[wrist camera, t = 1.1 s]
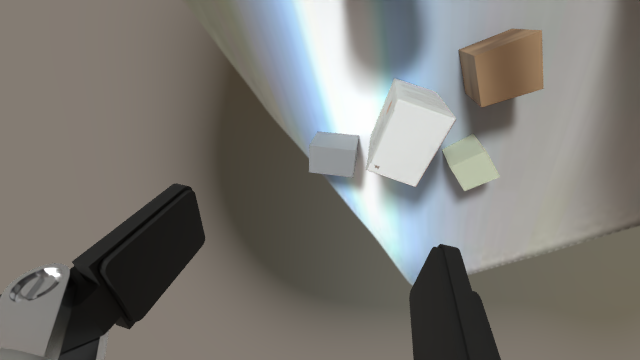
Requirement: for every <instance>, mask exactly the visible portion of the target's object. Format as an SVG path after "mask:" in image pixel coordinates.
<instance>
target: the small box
mask: <svg viewBox="0 0 640 360" xmlns="http://www.w3.org/2000/svg"><path fill="white" fill-rule="evenodd" d="M455 121H456V117H455V116H454V115H453V113H452V112H451V111H450V110H449V108H448V107H447V105H446V104H445V103H444V102H443V100H442V99H441V98H440V96H439V95H438V94H437V92H435V91H432V90H429V89H426V88H423V87H420V86H417V85H414V84H411V83H408V82H405V81H402V80H399V79H395V78H394V80H393V82H392V85H391V87H390V90H389V92H388V95H387V97H386V100H385V102H384V105H383V107H382V109H381V112H380V114H379V117H378V119H377V122H376V124H375V127H374V129H373V131H372V134H371V138H370V145H369V152H368V160H367V168H366V170H368V171H371V172H374V173H376V174H379V175H382V176H385V177H388V178H391V179H394V180H397V181H399V182H402V183H405V184H408V185H411V186H414V187H416V186H417V184H418V183H419V181H420V179H421V178H422V176H423V174H424V172H425V171H426V169H427V167H428V166H429V164H430V162H431V161H432V159H433V157H434V156H435V154H436V152H437V151H438V149H439V147H440V146H441V144H442V142H443V140H444V139H445V137H446V135H447V134H448V132H449V130H450V129H451V127H452V125H453V124H454V122H455Z"/></svg>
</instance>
